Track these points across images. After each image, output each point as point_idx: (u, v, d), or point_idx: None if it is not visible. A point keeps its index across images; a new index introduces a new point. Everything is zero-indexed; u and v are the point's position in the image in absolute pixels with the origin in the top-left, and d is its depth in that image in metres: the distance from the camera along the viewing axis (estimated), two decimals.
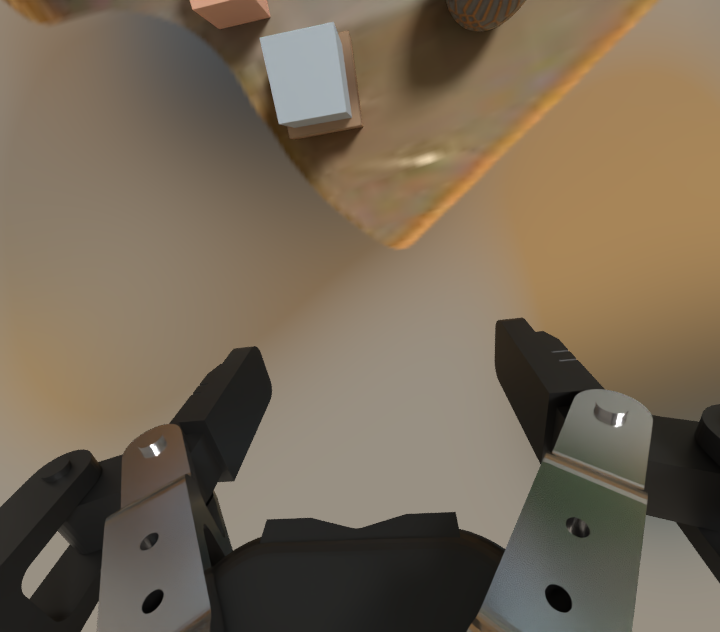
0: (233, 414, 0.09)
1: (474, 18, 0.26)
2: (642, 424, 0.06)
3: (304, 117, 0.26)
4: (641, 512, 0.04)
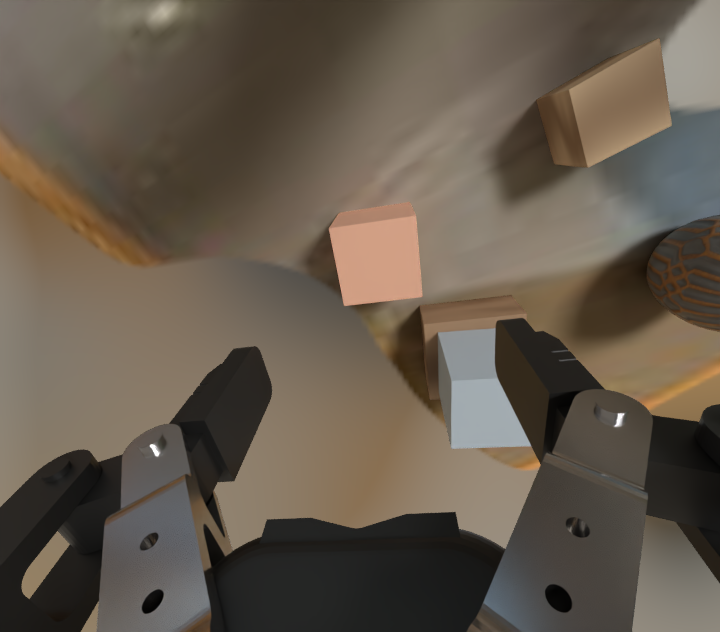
0: (233, 414, 0.09)
1: (703, 327, 0.21)
2: (642, 424, 0.06)
3: (485, 446, 0.21)
4: (641, 512, 0.04)
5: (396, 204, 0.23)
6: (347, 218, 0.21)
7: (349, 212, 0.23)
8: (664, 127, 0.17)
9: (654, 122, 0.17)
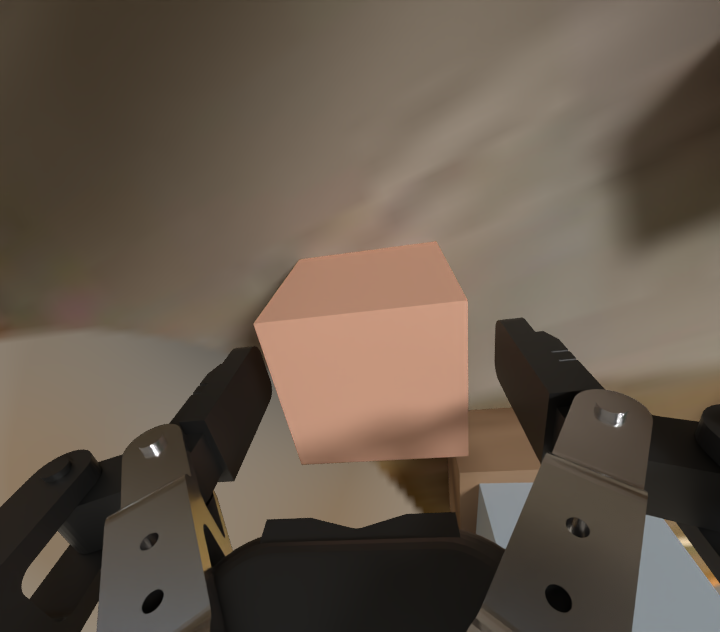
0: (233, 414, 0.09)
1: None
2: (642, 424, 0.06)
3: None
4: (641, 512, 0.04)
5: (410, 246, 0.12)
6: (307, 283, 0.10)
7: (318, 261, 0.12)
8: None
9: None
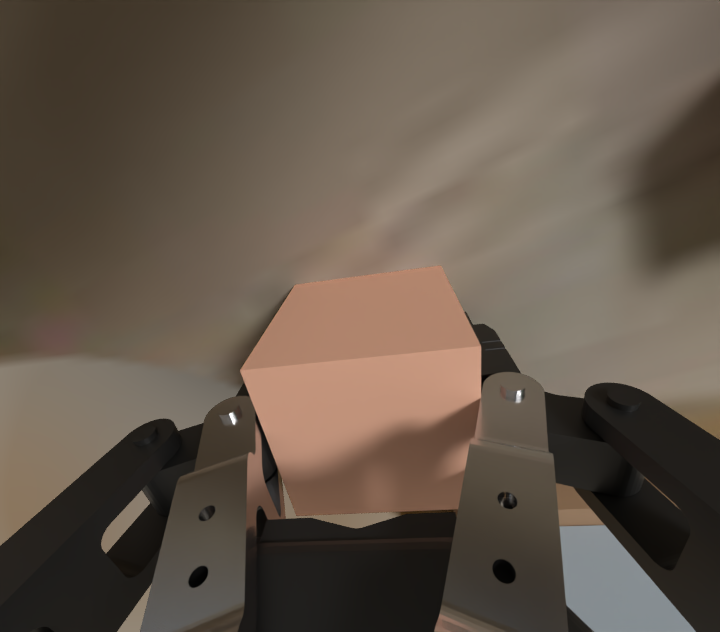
0: None
1: None
2: (534, 400, 0.07)
3: None
4: (551, 472, 0.05)
5: (413, 271, 0.11)
6: (302, 317, 0.09)
7: (314, 288, 0.11)
8: None
9: None
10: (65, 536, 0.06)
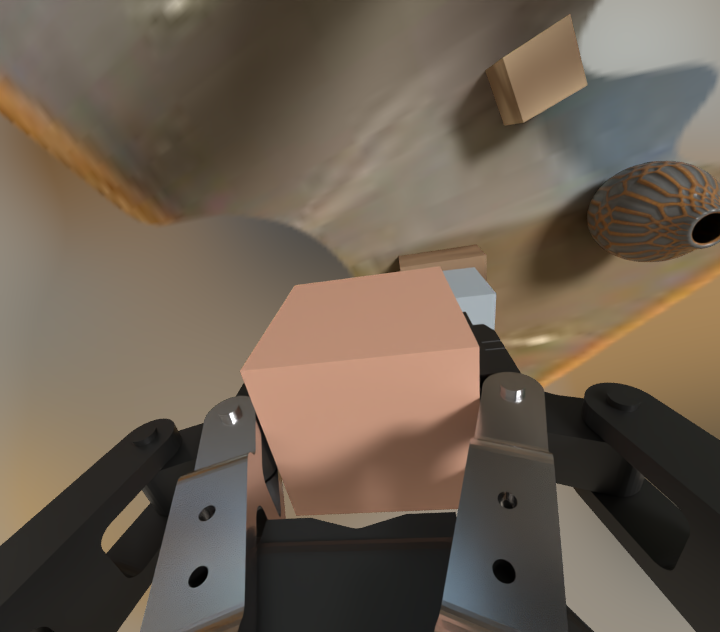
0: None
1: (629, 259, 0.25)
2: (534, 400, 0.07)
3: None
4: (551, 472, 0.05)
5: (412, 272, 0.11)
6: (302, 318, 0.09)
7: (314, 288, 0.11)
8: (581, 86, 0.21)
9: (573, 83, 0.21)
10: (65, 536, 0.06)
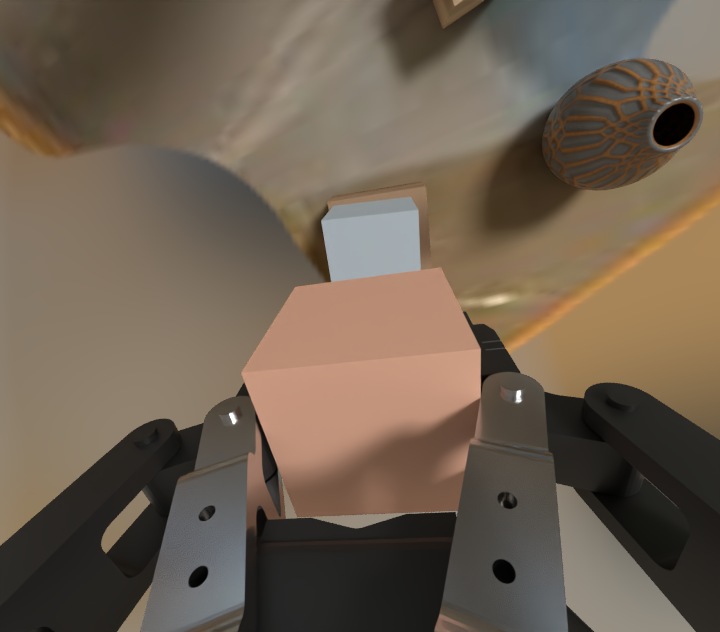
0: None
1: (587, 186, 0.21)
2: (534, 400, 0.07)
3: None
4: (551, 472, 0.05)
5: (413, 273, 0.11)
6: (302, 319, 0.09)
7: (314, 290, 0.11)
8: None
9: None
10: (65, 536, 0.06)
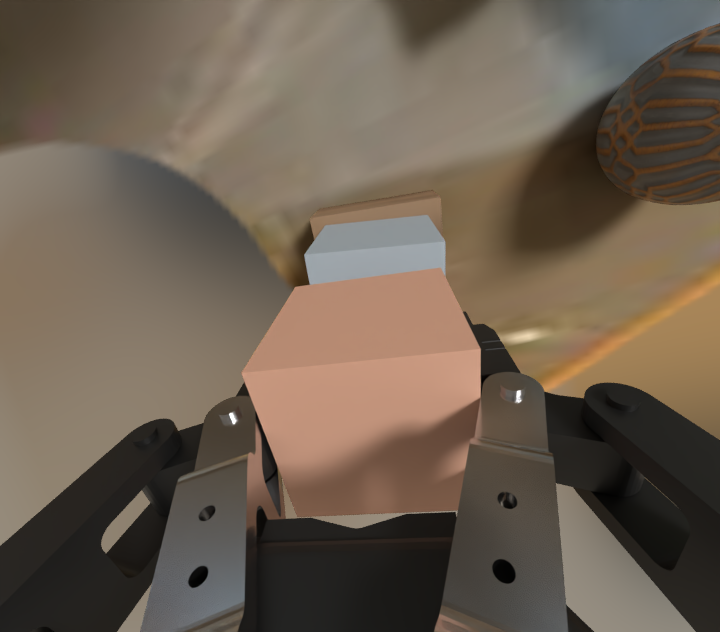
0: None
1: (666, 200, 0.15)
2: (534, 400, 0.07)
3: None
4: (551, 472, 0.05)
5: (413, 273, 0.11)
6: (303, 319, 0.09)
7: (314, 290, 0.11)
8: None
9: None
10: (65, 536, 0.06)
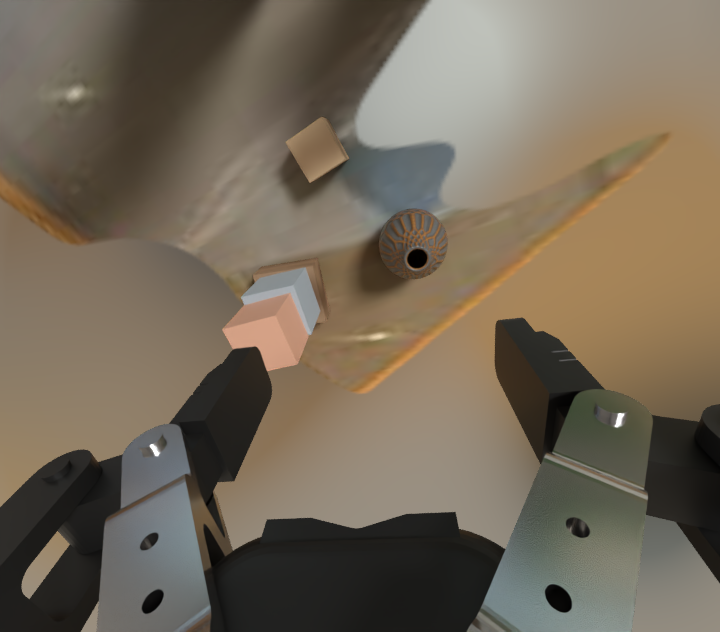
0: (233, 414, 0.09)
1: None
2: (642, 424, 0.06)
3: None
4: (641, 512, 0.04)
5: (280, 296, 0.32)
6: (241, 315, 0.30)
7: (249, 305, 0.32)
8: (341, 161, 0.31)
9: (335, 158, 0.31)
10: None
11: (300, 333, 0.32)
